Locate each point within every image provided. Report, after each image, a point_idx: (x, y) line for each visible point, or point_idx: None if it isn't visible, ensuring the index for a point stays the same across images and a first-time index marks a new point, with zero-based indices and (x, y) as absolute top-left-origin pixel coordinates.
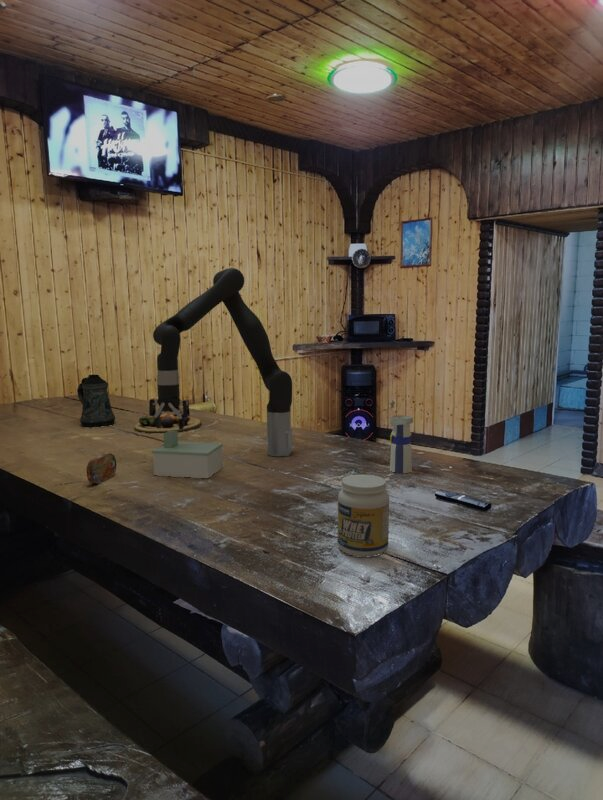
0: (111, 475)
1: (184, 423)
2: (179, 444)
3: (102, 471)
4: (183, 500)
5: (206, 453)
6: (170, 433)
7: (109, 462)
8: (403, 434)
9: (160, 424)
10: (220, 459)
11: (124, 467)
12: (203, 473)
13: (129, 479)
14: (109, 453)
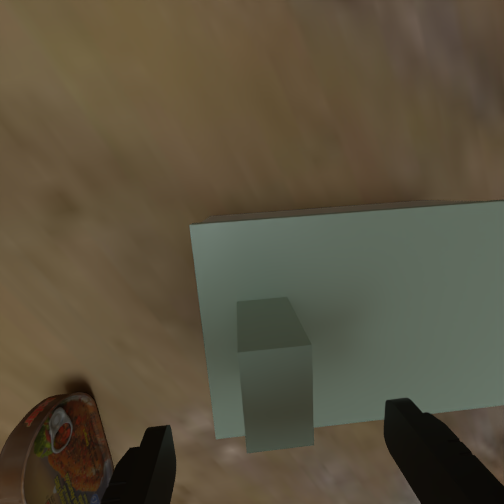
0: (90, 407)
1: (466, 451)
2: (294, 292)
3: (82, 476)
4: (408, 492)
5: (497, 404)
6: (300, 435)
7: (54, 455)
8: None
9: (162, 463)
10: None
11: (46, 298)
12: None
13: (170, 407)
14: (24, 496)
